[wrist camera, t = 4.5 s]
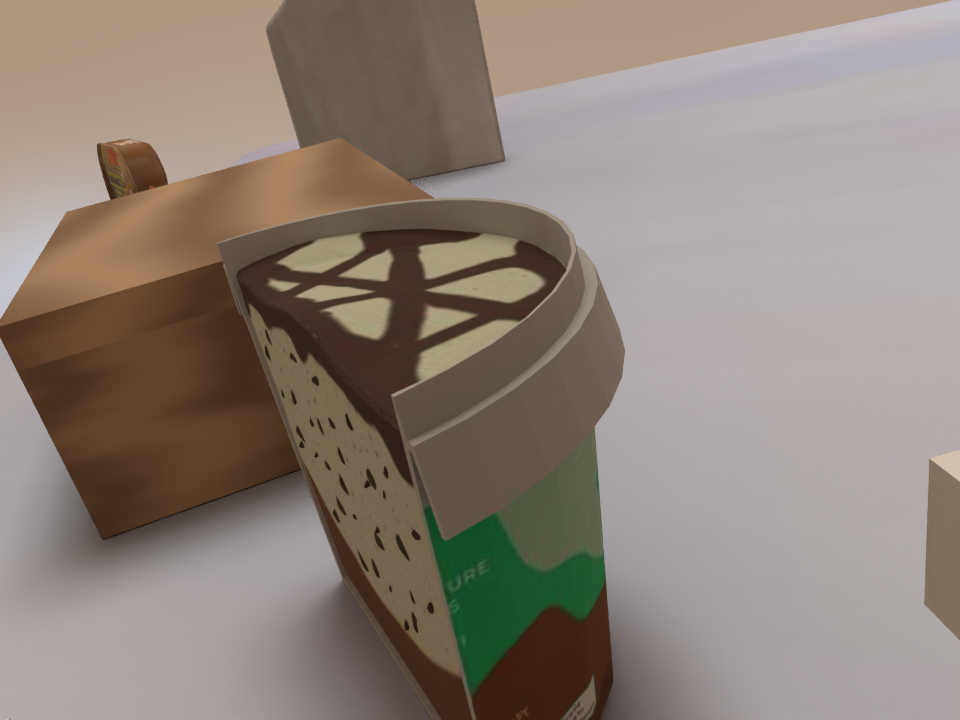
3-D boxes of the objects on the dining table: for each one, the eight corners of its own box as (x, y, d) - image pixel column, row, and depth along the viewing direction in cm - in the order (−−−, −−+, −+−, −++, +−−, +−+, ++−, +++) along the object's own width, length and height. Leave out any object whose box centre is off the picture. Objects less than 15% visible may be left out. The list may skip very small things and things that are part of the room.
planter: (504, 141, 74) (458, -98, 66) (505, 161, 67) (454, -105, 59) (331, 177, 76) (265, -52, 68) (314, 200, 69) (238, -53, 61)
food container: (800, 716, 17) (775, 249, 12) (546, 899, 14) (409, 411, 10) (500, 468, 27) (430, 167, 23) (325, 554, 25) (211, 238, 20)
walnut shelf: (379, 278, 47) (340, 137, 43) (483, 403, 31) (434, 198, 27) (129, 355, 44) (66, 211, 40) (102, 539, 28) (-6, 327, 24)
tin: (122, 237, 71) (83, 141, 68) (158, 226, 73) (121, 130, 69) (158, 268, 59) (112, 153, 56) (200, 254, 60) (158, 140, 57)
